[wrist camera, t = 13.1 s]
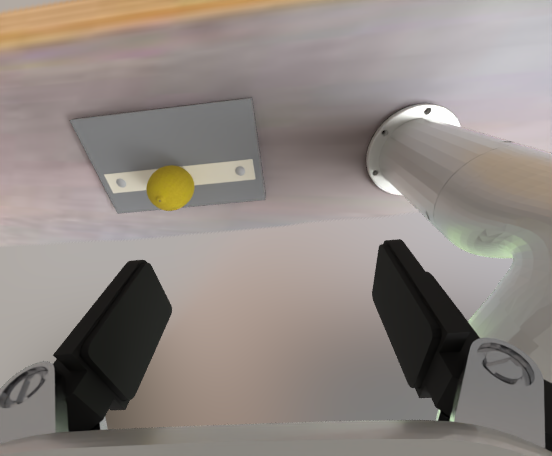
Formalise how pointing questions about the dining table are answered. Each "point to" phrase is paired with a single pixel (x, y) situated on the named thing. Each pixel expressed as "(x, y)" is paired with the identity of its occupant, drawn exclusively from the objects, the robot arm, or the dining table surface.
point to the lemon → (170, 188)
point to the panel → (175, 148)
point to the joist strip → (198, 172)
